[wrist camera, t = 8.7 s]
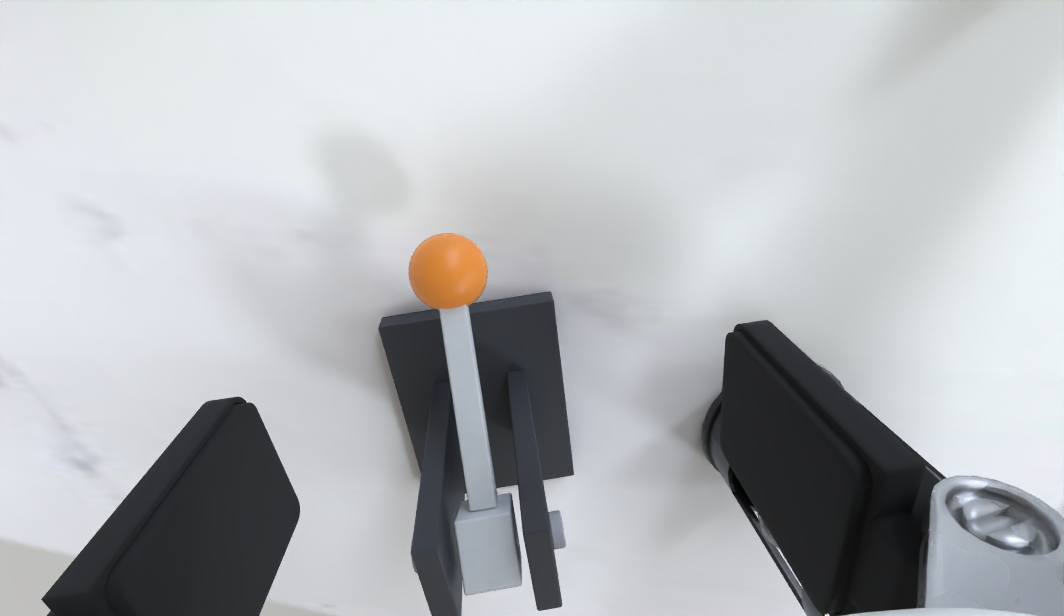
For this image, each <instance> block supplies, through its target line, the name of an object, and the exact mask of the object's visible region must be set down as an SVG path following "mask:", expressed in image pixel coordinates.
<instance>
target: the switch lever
mask: <svg viewBox="0 0 1064 616" xmlns="http://www.w3.org/2000/svg"><path fill="white" fill-rule="evenodd" d="M487 274H488V271H487V264H486V260H485V257H484V255H483V254H482V252H481V250H480V249H479V248H478V247H477V246H476V245H475V244H474V243H473V242H472V241H471V240H469V239H467V238H466V237H463V236H461V235H458V234H452V233H444V234H438V235H435V236H432V237H430V238H428V239H426V240H425V241H423V242H422V243H421V244H420V245H419V246H418V247H417V248H416V250H415V251H414V253H413V255H412V257H411V260H410V264H409V280H410V284H411V287H412V289H413V291H414V293H415V294H416V295H417V297H418V298H419V299H420V300H421V301H422V302H423V303H425V304H426V305H428V306H429V307H431V308H434V309H436V310H439V312H440V319H441V325H442V332H443V338H444V345H445V352H446V358H447V365H448V372H449V378H450V385H451V391H452V398H453V405H454V411H455V418H456V425H457V431H458V438H459V444H460V451H461V458H462V464H463V471H464V478H465V484H466V491H467V497H468V500H466V501H462V502H461V503H460V507H459V510H458V513H457V516H456V519H455V522H454V527H455V534H456V540H457V547H458V554H459V560H460V567H461V574H462V580H463V587H464V593H465V595H472V594H478V593H483V592H489V591H495V590H500V589H506V588H512V587H517V586H521V584H522V569H521V552H520V545H519V539H518V532H517V526H516V519H515V513H514V507H513V500H512V495H511V493H508V494H502V495H497V491H496V484H495V478H494V471H493V465H492V458H491V452H490V445H489V439H488V432H487V426H486V419H485V412H484V406H483V399H482V393H481V386H480V380H479V373H478V367H477V360H476V354H475V347H474V341H473V334H472V328H471V321H470V315H469V308H468V306H469V305H471V304H472V303H474V302H475V301H476V300H477V299H478V298H479V296H480V295H481V293H482V292H483V290H484V288H485V285H486V282H487Z"/></svg>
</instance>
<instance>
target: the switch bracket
mask: <svg viewBox="0 0 1064 616" xmlns="http://www.w3.org/2000/svg"><path fill="white" fill-rule="evenodd" d="M468 308H469V315H470V321H471V328H472V334H473V341H474V347H475V354H476V360H477V367H478V373H479V380H480V386H481V393H482V399H483V406H484V412H485V419H486V426H487V432H488V439H489V445H490V452H491V458H492V465H493V471H494V478H495V484H496V488H500V487H506V486H512V485H518V490H519V500H520V510H521V520H522V530H523V537H524V542H525V547H526V553H527V558H528V563H529V569H530V574H531V579H532V584H533V590H534V595H535V600H536V606H537V609H538V611H541V610H547V609H552V608H558V607H561V606H562V599H561V593H560V586H559V580H558V573H557V567H556V560H555V554H554V549H560V548H565V547H566V543H565V536H564V530H563V524H562V519H561V514H560V511H559V510H558V511H552V512H548V509H547V503H546V497H545V491H544V485H543V480H547V479H553V478H559V477H565V476H571V475H574V471H573V462H572V454H571V445H570V437H569V428H568V420H567V411H566V402H565V394H564V385H563V377H562V368H561V360H560V351H559V342H558V334H557V325H556V317H555V308H554V300H553V297H552V294H551V292H544V293H537V294H531V295H524V296H518V297H512V298H505V299H499V300H492V301H486V302H479V303H473V304H471V305H469V306H468ZM379 332H380V335H381V338H382V342H383V345H384V349H385V352H386V355H387V359H388V362H389V366H390V369H391V372H392V376H393V379H394V383H395V386H396V389H397V393H398V396H399V400H400V403H401V406H402V410H403V413H404V417H405V420H406V423H407V427H408V430H409V434H410V437H411V440H412V444H413V447H414V451H415V454H416V458H417V461H418V464H419V468H420V471H421V481H420V489H419V496H418V503H417V511H416V518H415V525H414V533H413V539H412V545H411V556H412V564H413V568H414V571H415V572H416V573H418V576H419V579H420V582H421V585H422V588H423V591H424V594H425V597H426V600H427V603H428V606H429V609H430V612H431V615H432V616H461V607H462V574H461V567H460V560H459V554H458V547H457V540H456V534H455V527H454V522H455V519H456V516H457V513H458V510H459V507H460V503H461V502H462V501H464V497H465V493H467V491H466V484H465V478H464V471H463V464H462V458H461V451H460V444H459V438H458V431H457V425H456V418H455V411H454V405H453V398H452V391H451V385H450V378H449V372H448V365H447V358H446V352H445V345H444V338H443V332H442V325H441V319H440V312H439V310H436V309H434V310H428V311H422V312H415V313H409V314H402V315H396V316H389V317H383V318H382V320H381V323H380V325H379Z"/></svg>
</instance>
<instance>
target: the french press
mask: <svg viewBox="0 0 1064 616" xmlns="http://www.w3.org/2000/svg"><path fill="white" fill-rule="evenodd" d="M819 367H820V366H819ZM820 368H821V369H822V370H823V371H824V372H825V373H826V374H827V375H829V376H830V377H831V378H832V379H833V380H834V381H835V382H836V383H837V384H838V385H839V386H840V387H842V388H843V386H842V384H841V383H840V381H839V380H838V379H837V378H836V377H835V376H834V375H833V374H832V373H830V372H829V371H827V370H826V369H824V368H822V367H820ZM843 389H844V388H843ZM847 393H848V392H847ZM848 394H849V393H848ZM849 395H850V394H849ZM850 396H851V395H850ZM851 397H852V396H851ZM852 398H853V397H852ZM854 399H855V398H854ZM855 400H856V399H855ZM856 401H857V400H856ZM857 402H858V401H857ZM858 403H859V402H858ZM859 404H860V403H859ZM860 405H861V404H860ZM721 406H722V393H721V394H720V396H719V397H718V398H717V399H716V400H715V402H714V403H713V405H712V406H711V408H710V410H709V412H708V413H707V416H706V419H705V422H704V425H703V432H702V441H703V449H704V451H705V454H706V456H707V458H708V460H709V461H710V463H711V464H712V465H713V467H714V468H715V469H716V470H717V471H719V472H720V473H721V475H722V476H723V478H724V480H725V481H726V483H727V485H728V486H729V488H730V489H731V491H732V493H733V494H734V496H735V498H736V499H737V501H738V503H739V504H740V506H741V508H742V509H743V511H744V513H745V514H746V516H747V517H748V519H749V521H750V522H751V524H752V526H753V527H754V529H755V531H756V532H757V534H758V536H759V537H760V539H761V541H762V542H763V544H764V545H765V547H766V549H767V550H768V552H769V554H770V555H771V557H772V559H773V560H774V562H775V564H776V565H777V567H778V569H779V570H780V572H781V573H782V575H783V577H784V578H785V580H786V582H787V583H788V585H789V587H790V588H791V590H792V592H793V593H794V595H795V597H796V598H797V600H798V601H799V603H800V605H801V606H802V608H803V610H804V611H805V613H806V615H807V616H825V614H822V613H820V612H819V611H818V610H817V609H816V608H815V606H814V605H813V603H812V602H811V600H810V598H809V597H808V595H807V593H806V592H805V590H804V588H803V589H802V588H801V586H800V585H799V583H798V581H797V580H796V578H795V577H794V575H793V573H792V572H791V570H790V569H789V567H788V565H787V564H786V562H785V561H784V559H783V557H782V556H781V554H780V553H779V551H778V550H777V548H779V547H778V545H777V543H776V542H775V540H774V538H773V537H772V535H771V533H770V532H769V530H768V528H767V527H766V525H765V523H764V522H763V520H762V518H761V517H760V515H759V513H758V518H759V519H758V518H757V516H756V515H755V513H754V511H757V510H756V508H755V507H754V505H753V503H752V502H751V500H750V498H749V497H748V495H747V493H746V492H745V490H744V488H743V487H742V485H741V483H740V482H739V480H738V478H737V477H736V475H735V473H734V472H733V470H732V468H731V467H730V465H729V463H728V462H727V460H726V458H725V457H724V455H723V452H722V449H721V445H720V422H721ZM861 406H862V407H863V408H864V409H865V410H867V409H866V408H865V407H864V406H863V405H861ZM867 411H868V410H867ZM868 412H869V413H870V414H871V415H872V416H873V417H874V418H875V419H876V420H877V421H878V422H880V423H881V424H882V425H883V426H884V427H885V428H886V429H887V430H888V431H889V432H890V433H892V434H893V435H894V436H895V437H896V438H897V439H898V440H899V441H900V442H901V443H902V444H903V445H905V446H906V447H907V448H908V449H909V450H910V451H911V452H912V453H913V454H914V455H915V456H917V457H918V458H919V459H920V460H921V461H922V462H923V463H924V464H925V465H926V468H927V469H928V470H929V471H930V472H931V473H932V474H933V475H934V476H935V477H936V478H937V479H939V480H940V481H942V480H943V479H946V477H944V476H943V475H942V474H941V473H940V472H939V471H937V470H936V469H935V468H934V467H933V466H932V465H931V464H929V463H928V462H927V461H926V460H925V459H924V458H923V457H921V456H920V455H919V454H918V453H917V452H916V451H914V450H913V449H912V448H911V447H910V446H909V445H908V444H906V443H905V442H904V441H903V440H902V439H901V438H899V437H898V436H897V435H896V434H895V433H894V432H893V431H891V430H890V429H889V428H888V427H887V426H886V425H884V424H883V423H882V422H881V421H880V420H879V419H878V418H876V417H875V416H874V415H873V414H872V413H871V412H870V411H868ZM753 510H754V511H753ZM776 547H777V548H776ZM779 549H780V548H779Z"/></svg>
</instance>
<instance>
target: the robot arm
mask: <svg viewBox="0 0 1064 616" xmlns="http://www.w3.org/2000/svg"><path fill="white" fill-rule="evenodd" d="M720 445H721V449H722V452H723V455H724V457H725V458H726V460H727V462H728V463H729V465H730V467H731V468H732V470H733V472H734V473H735V475H736V477H737V478H738V480H739V482H740V483H741V485H742V487H743V488H744V490H745V492H746V493H747V495H748V497H749V498H750V500H751V502H752V503H753V505H754V507H755V508H756V510H757V512H758V513H759V515H760V517H761V518H762V520H763V522H764V523H765V525H766V527H767V528H768V530H769V532H770V533H771V535H772V537H773V538H774V540H775V542H776V543H777V545H778V547H779V548H780V550H781V552H782V553H783V555H784V557H785V558H786V560H787V562H788V563H789V565H790V567H791V568H792V570H793V572H794V573H795V575H796V577H797V578H798V580H799V582H800V583H801V585H802V587H803V588H804V590H805V592H806V593H807V595H808V597H809V598H810V600H811V602H812V603H813V605H814V606H815V608H816V609H817V610H818V611H819V612H820V613H822V614H829V615H830V616H1064V518H1063V517H1062V516H1061V515H1060V514H1059V513H1058V512H1057V511H1056V510H1054V509H1053V508H1051V507H1050V506H1049V505H1047V504H1046V503H1044V502H1043V501H1042V500H1040V499H1039V498H1037V497H1035V496H1033V495H1031V494H1029V493H1027V492H1025V491H1023V490H1021V489H1019V488H1017V487H1014V486H1011V485H1009V484H1006V483H1003V482H1000V481H997V480H993V479H988V478H983V477H978V476H954V477H950V478H946V479H943V480H942V481H940V480H939V479H937V478H936V477H935V476H934V475H933V474H932V473H931V472H930V471H929V470H928V469H927V468H926V465H925V464H924V463H923V462H922V461H921V460H920V459H919V458H918V457H917V456H915V455H914V454H913V453H912V452H911V451H910V450H909V449H908V448H907V447H906V446H905V445H903V444H902V443H901V442H900V441H899V440H898V439H897V438H896V437H895V436H894V435H893V434H892V433H890V432H889V431H888V430H887V429H886V428H885V427H884V426H883V425H882V424H881V423H880V422H878V421H877V420H876V419H875V418H874V417H873V416H872V415H871V414H870V413H869V412H868V411H867V410H865V409H864V408H863V407H862V406H861V405H860V404H859V403H858V402H857V401H856V400H855V399H854V398H852V397H851V396H850V395H849V394H848V393H847V392H846V391H845V390H844V389H843V388H842V387H840V386H839V385H838V384H837V383H836V382H835V381H834V380H833V379H832V378H831V377H830V376H829V375H827V374H826V373H825V372H824V371H823V370H822V369H821V368H820V367H819V366H818V365H817V364H815V363H814V362H813V361H812V360H811V359H810V358H809V357H808V356H807V355H806V354H805V353H804V352H802V351H801V350H800V349H799V348H798V347H797V346H796V345H795V344H794V343H793V342H792V341H790V340H789V339H788V338H787V337H786V336H785V335H784V334H783V333H782V332H781V331H780V330H779V329H777V328H776V327H775V326H774V325H773V324H772V323H771V322H769V321H768V320H763V321H756V322H750V323H743V324H738V325H736V326H735V328H734V332H731V333H728V334H727V336H726V340H725V356H724V373H723V389H722V406H721V422H720ZM299 515H300V505H299V501H298V498H297V496H296V494H295V492H294V489H293V487H292V485H291V483H290V481H289V478H288V476H287V474H286V472H285V470H284V467H283V465H282V463H281V461H280V459H279V456H278V454H277V452H276V450H275V448H274V445H273V443H272V441H271V439H270V437H269V434H268V432H267V430H266V428H265V426H264V423H263V421H262V419H261V417H260V415H259V413H258V410H257V408H256V407H255V405H254V404H252V403H247V402H246V401H245V400H244V399H243V398H241V397H233V398H226V399H219V400H212V401H208V402H206V403H205V404H203V405H202V406H201V408H200V409H199V410H198V411H197V412H196V414H195V415H194V416H193V417H192V418H191V420H190V421H189V422H188V423H187V424H186V426H185V427H184V428H183V429H182V430H181V432H180V433H179V434H178V435H177V437H176V438H175V439H174V440H173V441H172V443H171V444H170V445H169V446H168V447H167V449H166V450H165V451H164V452H163V453H162V455H161V456H160V457H159V458H158V459H157V461H156V462H155V463H154V464H153V465H152V467H151V468H150V469H149V470H148V471H147V473H146V474H145V475H144V476H143V477H142V479H141V480H140V481H139V482H138V484H137V485H136V486H135V487H134V488H133V490H132V491H131V492H130V493H129V494H128V496H127V497H126V498H125V499H124V500H123V502H122V503H121V504H120V505H119V506H118V508H117V509H116V510H115V511H114V512H113V514H112V515H111V516H110V517H109V518H108V520H107V521H106V522H105V523H104V525H103V526H102V527H101V528H100V529H99V531H98V532H97V533H96V534H95V535H94V537H93V538H92V539H91V540H90V541H89V543H88V544H87V545H86V546H85V547H84V549H83V550H82V551H81V552H80V553H79V555H78V556H77V557H76V558H75V559H74V561H73V562H72V563H71V565H69V567H68V568H67V569H66V570H65V572H64V573H63V574H62V575H61V576H60V578H59V579H58V580H57V581H56V582H55V584H54V585H53V586H52V587H51V589H50V590H49V591H48V592H47V593H46V595H45V596H44V597H43V598H42V600H43V602H44V603H45V604H46V605H47V606H48V608H49V609H50V610H51V611H50V612H49V614H48V615H47V616H259V614H260V612H261V609H262V607H263V605H264V602H265V600H266V597H267V595H268V593H269V590H270V588H271V585H272V583H273V581H274V578H275V576H276V573H277V571H278V568H279V566H280V564H281V561H282V559H283V556H284V554H285V551H286V549H287V547H288V544H289V542H290V539H291V537H292V534H293V532H294V530H295V527H296V525H297V522H298V519H299Z"/></svg>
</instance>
